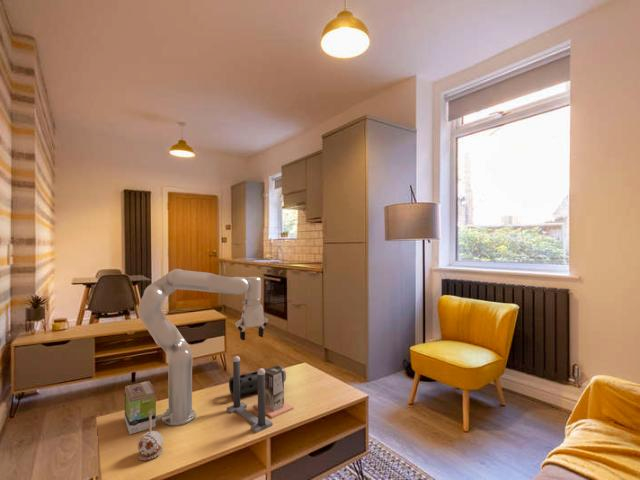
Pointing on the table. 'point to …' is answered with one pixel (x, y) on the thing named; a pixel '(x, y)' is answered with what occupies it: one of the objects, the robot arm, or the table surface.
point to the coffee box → (274, 388)
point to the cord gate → (239, 407)
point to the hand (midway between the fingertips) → (251, 338)
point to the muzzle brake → (250, 382)
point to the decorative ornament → (150, 443)
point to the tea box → (139, 406)
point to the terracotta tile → (276, 412)
